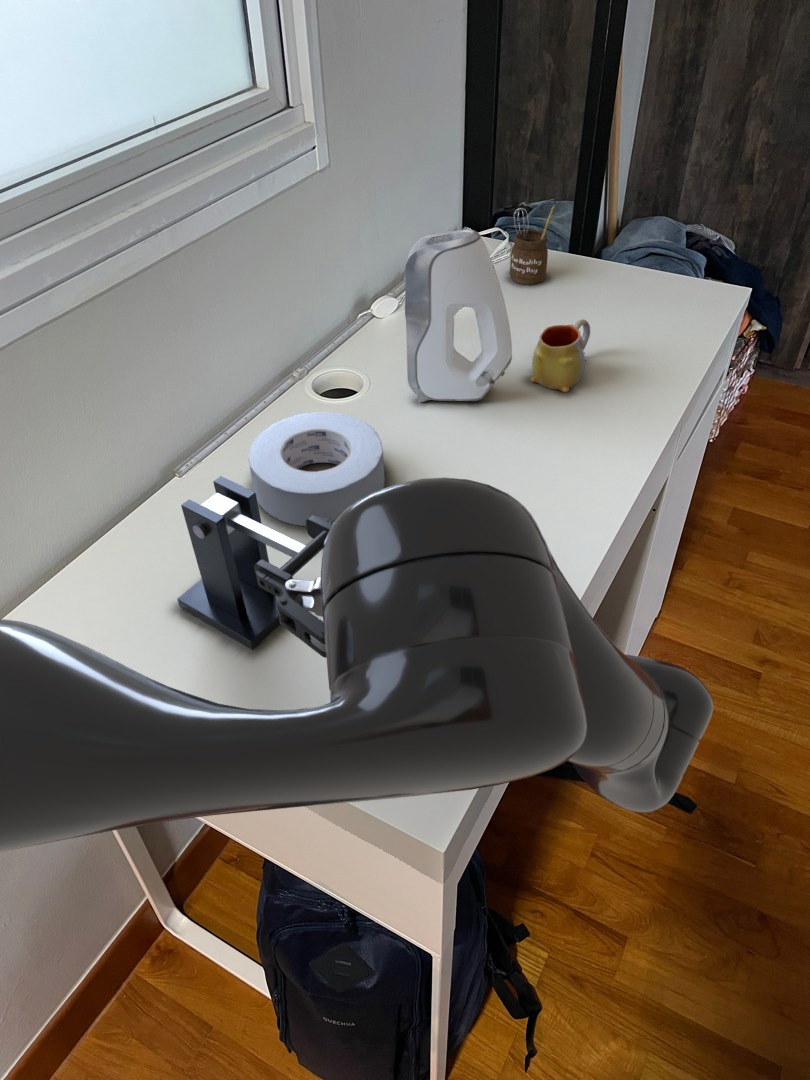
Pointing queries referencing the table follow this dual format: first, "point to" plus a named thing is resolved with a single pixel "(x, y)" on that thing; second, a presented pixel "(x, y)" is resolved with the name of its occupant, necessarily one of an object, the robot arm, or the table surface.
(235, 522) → the switch lever
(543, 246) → the utensil holder
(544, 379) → the mug
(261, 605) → the switch bracket
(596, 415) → the table surface
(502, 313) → the jug
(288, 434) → the tape roll
